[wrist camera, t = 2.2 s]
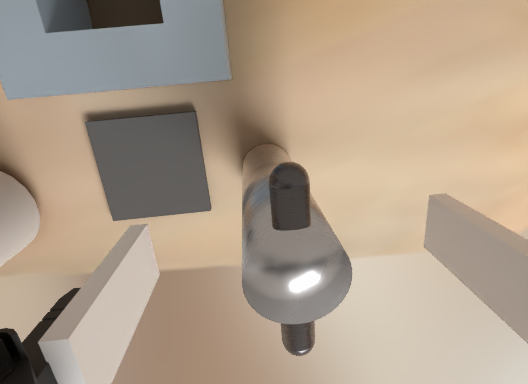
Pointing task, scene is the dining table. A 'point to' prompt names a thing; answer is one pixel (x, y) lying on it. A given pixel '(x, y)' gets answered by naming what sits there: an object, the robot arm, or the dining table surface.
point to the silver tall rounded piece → (288, 248)
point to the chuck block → (108, 48)
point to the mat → (151, 165)
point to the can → (16, 217)
